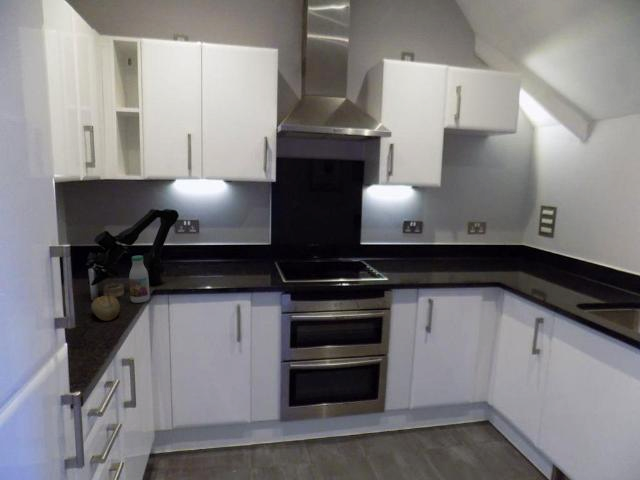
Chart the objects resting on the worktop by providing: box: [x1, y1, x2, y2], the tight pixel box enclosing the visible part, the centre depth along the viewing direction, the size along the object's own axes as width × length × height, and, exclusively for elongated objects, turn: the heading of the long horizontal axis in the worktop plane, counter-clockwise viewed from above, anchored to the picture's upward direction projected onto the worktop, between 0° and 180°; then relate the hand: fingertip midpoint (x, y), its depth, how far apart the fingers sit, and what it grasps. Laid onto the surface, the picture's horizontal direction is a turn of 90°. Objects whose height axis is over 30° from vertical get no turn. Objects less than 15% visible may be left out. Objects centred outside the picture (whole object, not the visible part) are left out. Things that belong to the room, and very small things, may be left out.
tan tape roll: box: [102, 283, 125, 298], centre depth 185 cm, size 8×8×4 cm
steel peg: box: [88, 267, 99, 301], centre depth 178 cm, size 3×3×14 cm
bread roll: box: [90, 295, 121, 322], centre depth 160 cm, size 10×15×8 cm, turn 42°
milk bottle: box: [128, 255, 151, 304], centre depth 177 cm, size 8×8×20 cm
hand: (90, 284), depth 177 cm, fingers closed on steel peg, 3 cm apart
